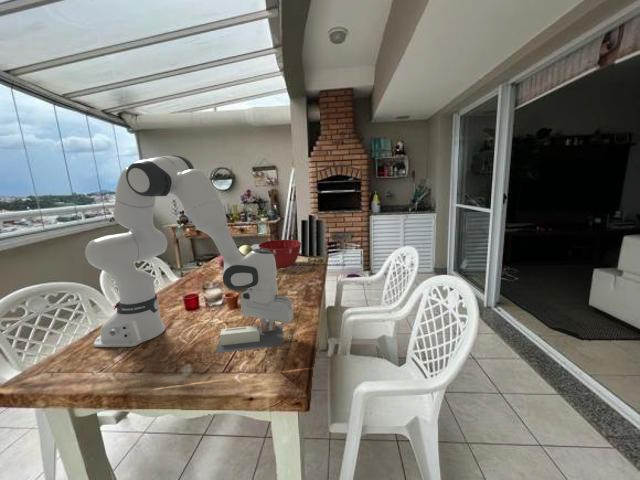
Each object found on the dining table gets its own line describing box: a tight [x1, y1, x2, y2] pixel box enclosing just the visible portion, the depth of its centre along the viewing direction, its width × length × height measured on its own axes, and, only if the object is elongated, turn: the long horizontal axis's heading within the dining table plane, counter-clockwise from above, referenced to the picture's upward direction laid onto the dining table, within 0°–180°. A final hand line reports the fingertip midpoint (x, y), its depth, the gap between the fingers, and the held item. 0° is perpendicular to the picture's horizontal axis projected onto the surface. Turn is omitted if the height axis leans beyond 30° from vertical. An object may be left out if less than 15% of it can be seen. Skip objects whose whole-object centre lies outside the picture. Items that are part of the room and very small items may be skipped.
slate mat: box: [215, 324, 284, 354], centre depth 102 cm, size 22×15×1 cm
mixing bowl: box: [258, 239, 302, 270], centre depth 191 cm, size 28×28×16 cm
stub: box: [260, 320, 276, 332], centre depth 107 cm, size 5×4×4 cm
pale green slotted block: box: [219, 324, 261, 346], centre depth 100 cm, size 13×4×4 cm, turn 99°
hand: (268, 329), depth 104 cm, fingers closed
